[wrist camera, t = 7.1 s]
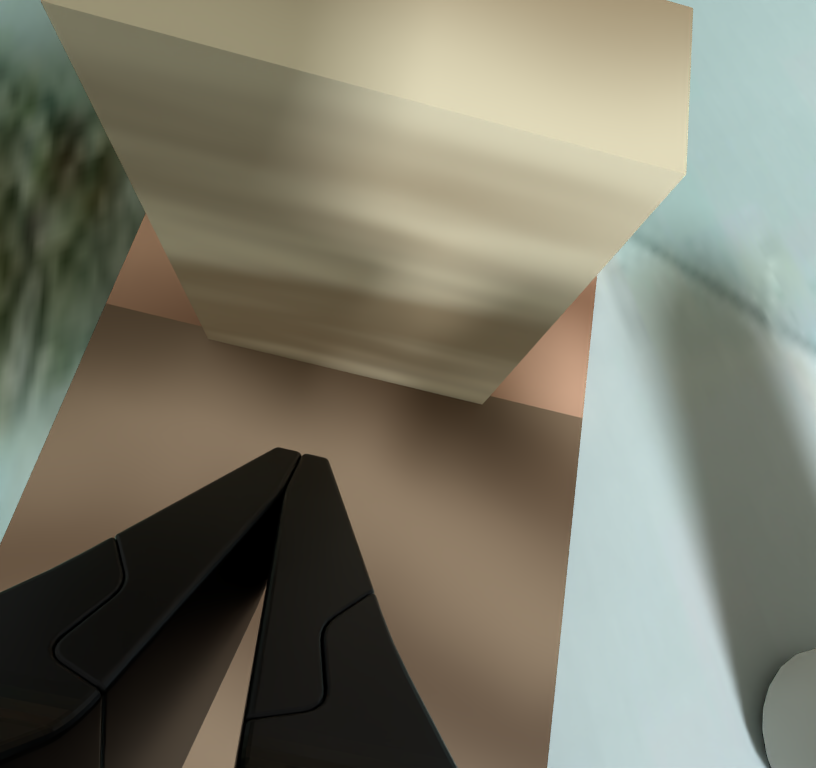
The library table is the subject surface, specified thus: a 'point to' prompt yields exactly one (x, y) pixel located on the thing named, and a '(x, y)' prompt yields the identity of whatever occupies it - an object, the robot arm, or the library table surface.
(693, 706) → the library table surface
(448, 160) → the T block
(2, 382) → the library table surface
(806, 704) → the beverage can
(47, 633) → the robot arm
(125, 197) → the library table surface
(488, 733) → the board
